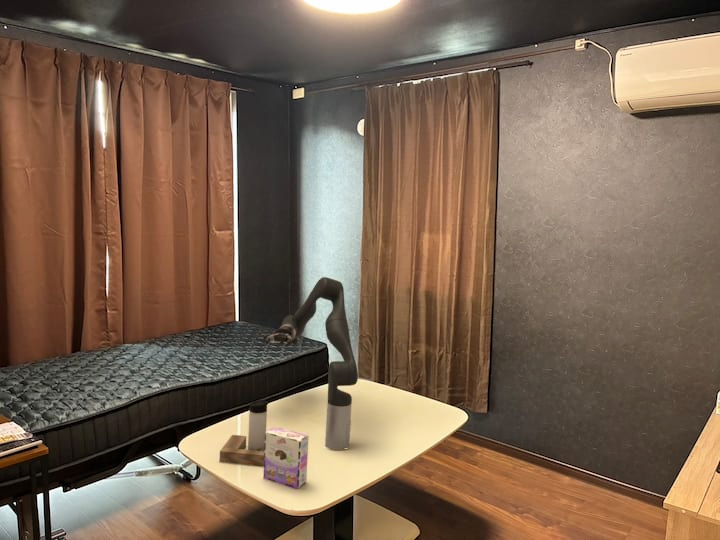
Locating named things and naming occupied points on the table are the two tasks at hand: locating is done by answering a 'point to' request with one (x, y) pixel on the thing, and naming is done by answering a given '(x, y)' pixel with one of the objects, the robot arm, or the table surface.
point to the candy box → (285, 457)
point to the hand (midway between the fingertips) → (277, 343)
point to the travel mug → (257, 425)
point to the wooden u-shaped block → (240, 452)
